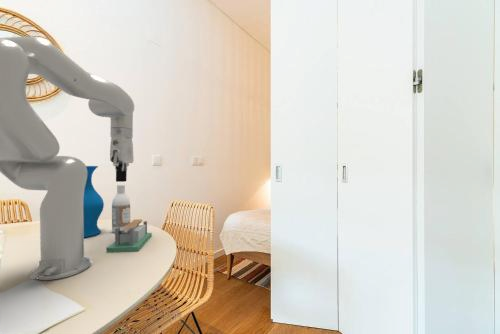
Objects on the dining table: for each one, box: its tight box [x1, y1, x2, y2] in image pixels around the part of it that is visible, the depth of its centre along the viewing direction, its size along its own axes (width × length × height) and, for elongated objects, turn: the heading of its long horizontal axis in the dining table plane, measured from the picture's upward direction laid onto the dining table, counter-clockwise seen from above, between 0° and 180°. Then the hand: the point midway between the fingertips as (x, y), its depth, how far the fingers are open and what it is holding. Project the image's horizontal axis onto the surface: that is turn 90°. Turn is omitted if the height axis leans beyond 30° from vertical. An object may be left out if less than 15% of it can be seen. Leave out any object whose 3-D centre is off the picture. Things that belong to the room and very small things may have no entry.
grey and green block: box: [106, 220, 153, 253], centre depth 88 cm, size 16×10×8 cm, turn 7°
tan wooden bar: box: [119, 219, 143, 234], centre depth 89 cm, size 14×3×1 cm, turn 7°
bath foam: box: [111, 184, 131, 234], centre depth 104 cm, size 7×7×20 cm
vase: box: [83, 165, 105, 238], centre depth 98 cm, size 12×13×28 cm
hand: (121, 181), depth 92 cm, fingers closed
